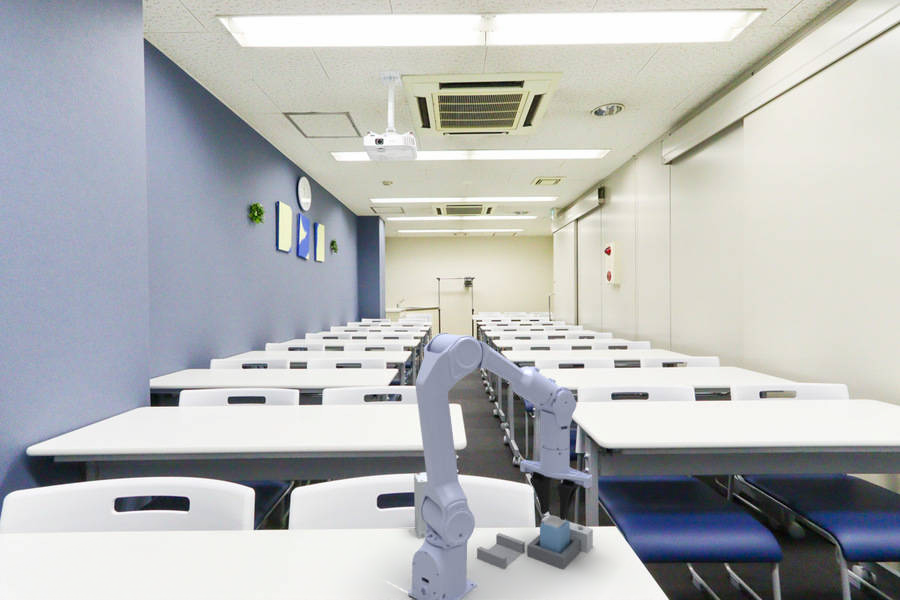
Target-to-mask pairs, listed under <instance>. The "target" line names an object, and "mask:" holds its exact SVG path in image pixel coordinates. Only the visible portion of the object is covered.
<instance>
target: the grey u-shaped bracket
mask: <svg viewBox="0 0 900 600" xmlns="http://www.w3.org/2000/svg"><path fill="white" fill-rule="evenodd" d="M495 536H496V542H495V544H493V545H492V546H491V547H490V548H488V549H487V548H485V547H482V546H479V547H477V548H476V558H477V560H480V561H483V562H486V563H488V564H490V565H493V566H495V567H496V568H497V567H498V568H499V569H503V570H505V569H506V568H507V567H508V566H509V565H511V564H512V563H513V562H514V561H516V559H518V558H519V557H520V556H521V555H522V554H524V553H525V549H526V548H525V547H526V544H525V543H526V542H525V541H523V540H520V539H517V538H514V537H511V536H509V535H506V534H503V533H500V532H498V533H497V534H496V535H495Z"/></svg>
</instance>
